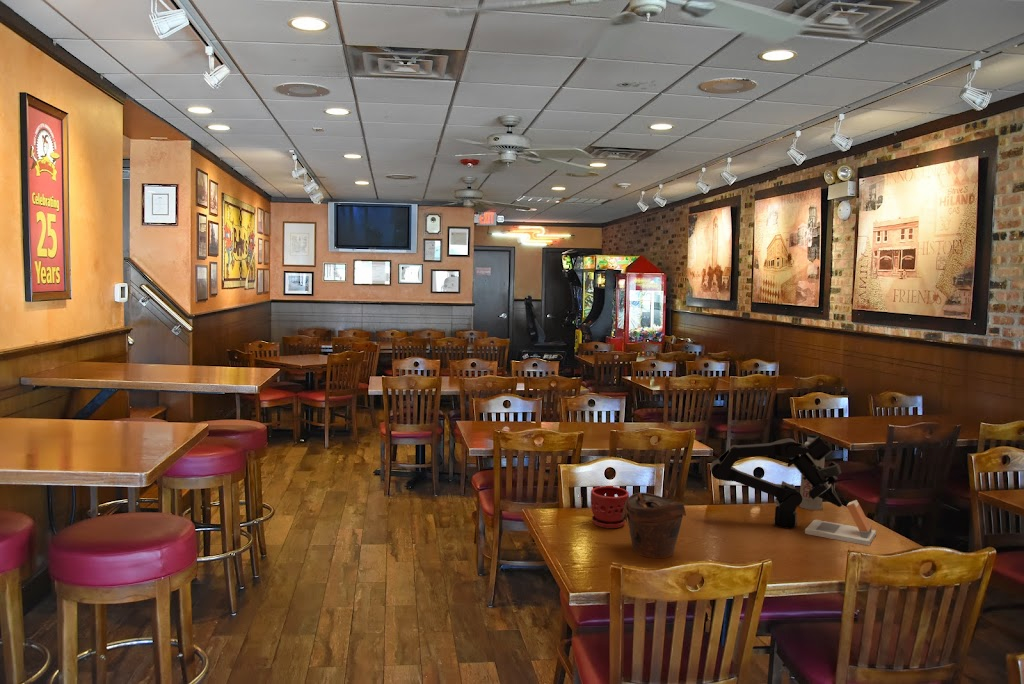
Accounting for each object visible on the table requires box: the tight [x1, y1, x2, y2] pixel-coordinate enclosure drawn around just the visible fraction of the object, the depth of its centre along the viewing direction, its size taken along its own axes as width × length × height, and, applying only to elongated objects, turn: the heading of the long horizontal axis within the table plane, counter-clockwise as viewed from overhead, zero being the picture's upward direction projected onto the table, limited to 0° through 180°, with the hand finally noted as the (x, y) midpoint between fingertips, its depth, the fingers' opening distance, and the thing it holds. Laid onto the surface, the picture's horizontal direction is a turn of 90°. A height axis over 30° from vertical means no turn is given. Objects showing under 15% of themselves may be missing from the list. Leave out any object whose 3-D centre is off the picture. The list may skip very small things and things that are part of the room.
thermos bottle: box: [799, 433, 826, 511], centre depth 298 cm, size 8×8×28 cm
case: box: [621, 491, 687, 559], centre depth 245 cm, size 18×20×18 cm
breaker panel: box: [804, 519, 877, 546], centre depth 267 cm, size 20×14×4 cm
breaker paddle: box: [846, 499, 872, 533], centre depth 263 cm, size 3×6×11 cm, turn 146°
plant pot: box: [590, 485, 630, 529], centre depth 271 cm, size 13×13×12 cm
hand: (841, 506), depth 266 cm, fingers closed
